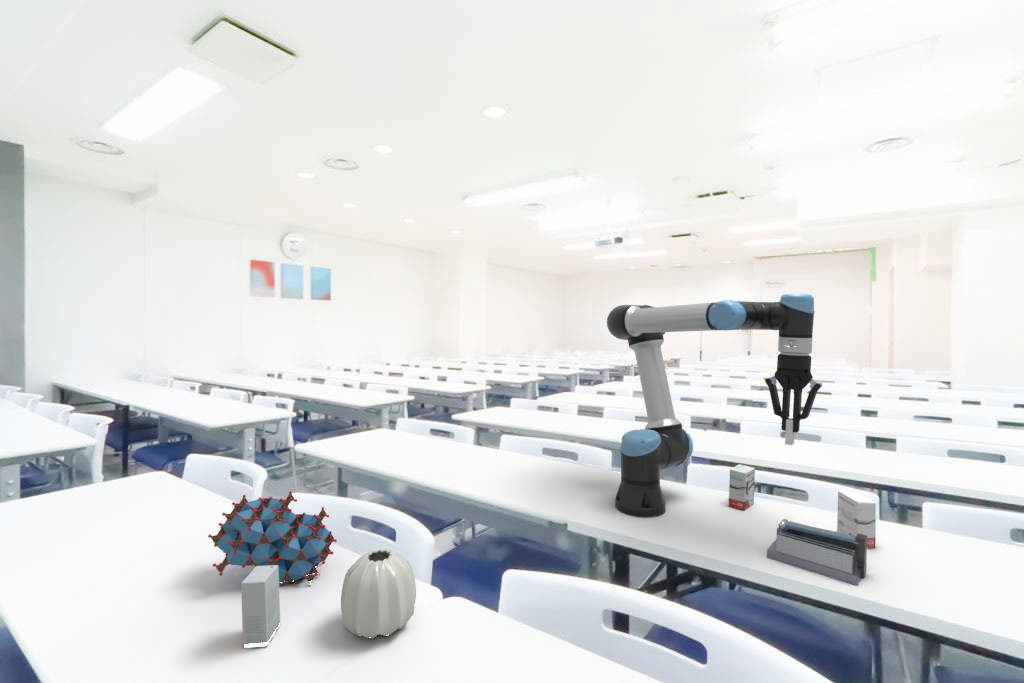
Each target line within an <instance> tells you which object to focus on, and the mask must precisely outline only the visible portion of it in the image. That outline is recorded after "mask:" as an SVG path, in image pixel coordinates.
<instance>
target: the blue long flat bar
mask: <svg viewBox="0 0 1024 683" xmlns="http://www.w3.org/2000/svg"><path fill="white" fill-rule="evenodd" d="M792 522H793V521H791V522H789V520H788V519H786V518H783V519H782V520H781V521H780V522H779V523H778V525H777V526H778V527H779V528H780V529H784V528H789V529H793V530H798V531H802V532H807V533H811V534H816V535H820V536H825V537H830V538H834V539H839V540H843V541H848V542H852V543H854V541H855V536H854V535H849V534H844V533H839V532H837V531H834V530H829V529H824V528H819V527H815V526H810V525H807V526H806V524H803V525H802V523H799V524H797V523H798V522H795V523H792Z"/></svg>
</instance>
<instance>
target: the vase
mask: <svg viewBox="0 0 1024 683" xmlns="http://www.w3.org/2000/svg"><path fill="white" fill-rule="evenodd" d="M415 579H416V578H415V574H414V570H413V567H412V565H411V562H409V560H407V559H406V558H405V557H404V556H403V555H401V554H400V553H398V552H396V551H394V550H391V549H388V548H387V549H381V548H378V549H376V550H372V551H368V552H366V554H364V555H362V556H360V557H359V558H358V559H357V560H356V561H355V562H354V563H353V564H352V565H351V566H350V567H349V568H348V569H347V571H346V573H345V575H344V578H343V583H342V587H341V596H340V610H341V616H342V618H341V619H342V626H344V627H345V629H347V630H348V631H350V632H351V633H352V635H353V634H355V636H356V635H357V636H356V637H360V636H359V635H362V636H361V637H364V638H366V639H368V638H369V637H371V638H373V639H374V637H375V638H376V637H377V635H378V636H382V635H383V636H382V637H385V636H386V635H388V634H390V635H392V634H393V633H394V632H395V631H397V630H396V629H400V630H401V629H403V627H404V626H406V624H407V623H408V622H409V620H410V619H411V618H412V616H414V612H415V604H416V599H417V585H416V580H415Z"/></svg>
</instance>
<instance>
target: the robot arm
mask: <svg viewBox="0 0 1024 683" xmlns="http://www.w3.org/2000/svg"><path fill="white" fill-rule="evenodd" d="M814 318H815V299H814V296H813V295H812V294H808V293H785V294H782V295H781V296H780V299H779V301H774V302H773V301H768V302H767V301H741V300H739V301H738V300H734V299H733V300H732V299H727V300H725V299H724V300H720V301H716V302H715V301H714V302H704V303H692V304H691V303H690V304H689V303H688V304H678V305H668V306H652V305H647V304H641V305H636V304H620V305H617V306H616V307H614V308H612V309H611V311H610V312H609V313H608V315H607V318H606V327H607V330H608V331H609V334H611V335H612V337H614V338H616V339H619V340H622V341H623V340H624V341H625V340H626V341H627V343H628V348H629V349H631V350H632V351H633V353H634V354H635V359H636V360H635V361H636V365H637V370H638V376H639V380H640V384H641V389H642V390H641V391H642V394H643V395H642V396H643V400H644V406H645V410H646V415H647V421H648V423H647V424H646V425H645V427H644V428H641V429H633V430H629V431H627V432H625V433H624V434H623V435H622V437H621V443H620V469H621V470H620V483H619V487H618V489H617V492H616V495H615V499H614V500H615V501H614V504H615V505H614V506H615V508H616V509H617V510H618V511H620V512H621V513H624V514H627V515H630V516H632V517H633V516H634V517H643V518H648V517H649V518H652V517H653V518H654V517H658V516H661V515H663V514H665V513H666V506H667V504H666V500H665V497H664V493H663V490H662V487H661V480H660V479H661V471H663V470H666V469H669V468H672V467H678V466H680V465H682V464H683V463H686V462H688V460H689V459H690V458H691V456H692V454H693V451H694V443H693V439H692V436H691V434H690V433H688V432H687V430H685V429H683V425H682V422H681V421H680V420H678V419H677V418H676V415H675V410H674V405H673V400H672V396H671V391H670V386H669V381H668V375H667V372H666V367H665V362H664V356H663V353H662V345H663V343H664V341H665V339H664V335H665V334H666V333H677V332H678V333H679V332H680V333H681V332H700V331H701V332H702V331H703V332H706V331H707V332H710V331H739V330H742V331H743V330H747V331H749V330H751V331H752V330H755V331H756V330H761V331H763V330H764V331H778V340H777V341H778V343H777V351H778V352H779V354H778V355H777V362H776V371H775V372H774V375H773V376H771V377H768V378H765V379H764V382H765V384H766V386H767V387H768V390H769V395H770V400H771V403H772V404H771V405H772V409H773V410H772V411H773V413H774V415H776V416H778V417H780V418H781V428H780V429H781V431H784V432H785V434H784V435H785V436H784V437H785V439H784V445H787V446H793V445H794V444H795V437H796V436H795V433H796V434H797V433H798V432H799V431H800V425H801V420H806V419H807V418H809V416H810V413H811V410H812V408H813V405H814V402H815V399H816V397H817V394H818V391H819V390H820V389H822V387H823V383H822V382H818V381H817V380H815V379H814V377H813V375H812V371H811V370H812V356H811V355H810V354H812V352H813V336H814V335H813V332H814V331H813V330H814ZM777 382H778V384H779V385H780V386H781V387H782V404H781V402H780V397H779V392H778V387H777ZM808 384H809V388H810V390H809V392H808V395H807V398H806V401H805V403H804V406H803V408H802V398H803V397H802V394H803V390H804V388H806V386H807V385H808ZM792 390H793V405H792V407H793V410H792V417H790V416H791V415H790V411H791V410H790V408H791V395H792V394H791V393H792Z"/></svg>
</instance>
